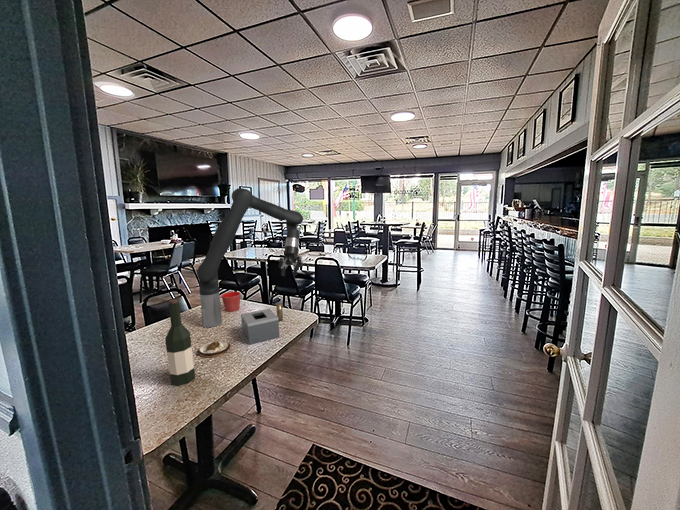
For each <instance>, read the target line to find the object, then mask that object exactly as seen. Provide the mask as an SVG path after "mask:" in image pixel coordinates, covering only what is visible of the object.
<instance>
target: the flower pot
mask: <svg viewBox="0 0 680 510" xmlns="http://www.w3.org/2000/svg"><path fill="white" fill-rule="evenodd" d="M221 300H222V303H223V307H224V309H225V312H227V313H233V312H236V311H239V310H240V304H241V292H240V291H230V292H225V293H223V294H222V295H221Z"/></svg>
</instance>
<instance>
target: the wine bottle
mask: <svg viewBox="0 0 680 510" xmlns="http://www.w3.org/2000/svg"><path fill="white" fill-rule="evenodd" d="M168 311H169V318H170V327H169V330H168V332H167V334H166V336H165V339H164V340H165V348H166V355H167V363H168V370H169V376H170V383H171V385H172V386H178V387H179V386H183V385H188V384H189V383H191V382H192V381H194V380H195V379H196V373H195V363H194V354H193V349H192V348H193V347H192V339H191V338H192V337H191V332H190V330H188V329H187V327H186V326H185V325H184V324H183V323H182V318H181V317H182V316H181V308H180V301H178V299H176V298H174V299H170V300H169V302H168Z"/></svg>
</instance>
